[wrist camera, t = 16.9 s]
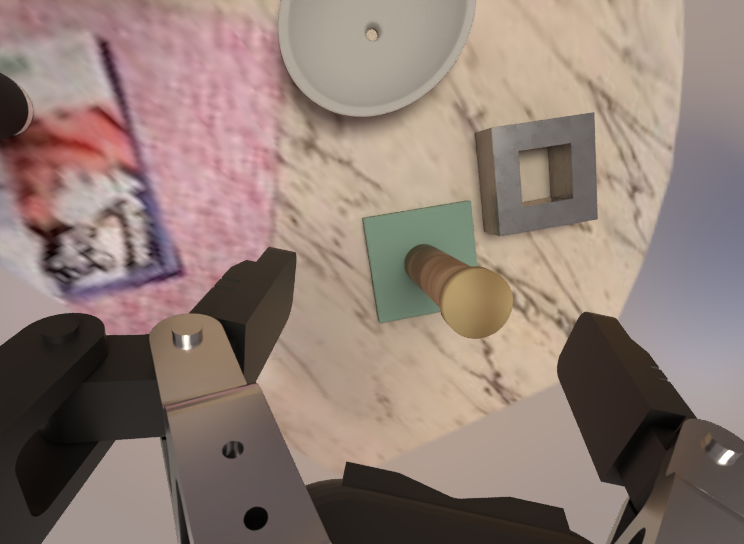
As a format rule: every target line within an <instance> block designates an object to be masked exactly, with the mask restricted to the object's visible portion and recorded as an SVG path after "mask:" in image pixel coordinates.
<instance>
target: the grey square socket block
mask: <svg viewBox="0 0 744 544" xmlns="http://www.w3.org/2000/svg"><path fill="white" fill-rule="evenodd" d="M475 136H476V147H477V158H478V169H479V179H480V190H481V201H482V212H483V222H484V232H487V233H491V234H495V235H498V236H504V235H510V234H516V233H521V232H527V231H533V230H539V229H544V228H550V227H556V226H562V225H567V224H573V223H579V222H584V221H590V220H596V219H598V217H597V185H596V153H595V122H594V112H593V113H587V114H580V115H573V116H567V117H560V118H553V119H547V120H540V121H533V122H527V123H520V124H514V125H507V126H500V127H494V128H489V129H486V130H483V131H480V132H477V133H475ZM543 147H548V151H549V169H550V187H551V197H550V198H544V199H538V200H532V201H526V202H522V195H521V181H520V167H519V153H518V151H524V150H530V149H536V148H543Z"/></svg>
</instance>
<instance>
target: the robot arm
mask: <svg viewBox="0 0 744 544" xmlns="http://www.w3.org/2000/svg"><path fill="white" fill-rule="evenodd" d="M295 270H296V253H295V252H291V251H287V250H282V249H277V248H272V247H268V248H267V249H266V251H265V252H264V253H263V254H262V255H261V257H260V258H259V259H258V260H257V262H254V261H249V260H245V261H243V262H241V263H239V264H237V265H235V266H232V267H231V268H230V269H229V270H228V271H227V272H226V273H225V274H224V275H223V277H222V279H220V280H219V281H218V282H217V283H216V284H215V286H214V288H212V289H211V290H210V291H209V292H208V293H207V294H206V295H205V296H204V297H203V298H202V300H201V301H200V302H199V303H198V304H197V305H196V306H195V307H194V308H193V309H192V311H191V312H190V313H189V314H181V315H176V316H173V317H169V318H167V319H165V320H163V321H161V322H160V323H158V324H157V325H156V326H155V327H154V328H153V329H152V331H151V332H150V334H145V335H106V333H105V327H104V324H103V322H102V321H101V320H100V319H98V318H97V317H95V316H92V315H88V314H82V313H65V314H58V315H54V316H50V317H46V318H43V319H41V320H38V321H36V322H34V323H32V324H30V325H28V326H27V327H25V328H24V329H22V330H21V331H20V332H18V333H17V334H16V335H15V336H13V337H12V338H11V339H9V340H8V341H6V342H5V343H4V344H2V345H1V346H0V544H41V543H42V542H43V540H44V539H45V538H46V536H47V535H48V533H49V532H50V531H51V529H52V528H53V526H54V525H55V524H56V522H57V521H58V519H59V518H60V517H61V515H62V514H63V512H64V511H65V510H66V508H67V507H68V506H69V504H70V502H71V501H72V500H73V499H74V497H75V496H76V494H77V493H78V492H79V490H80V489H81V487H82V486H83V485H84V483H85V482H86V481H87V479H88V478H89V476H90V475H91V474H92V472H93V471H94V469H95V468H96V467H97V465H98V464H99V462H100V461H101V460H102V458H103V457H104V456H105V454H106V453H107V451H108V450H109V448H110V447H111V446H112V444H113V443H114V442H115V440H122V439H135V438H149V437H160V440H161V447H162V452H163V458H164V463H165V469H166V474H167V480H168V485H169V491H170V496H171V502H172V508H173V514H174V520H175V527H176V535H177V542H178V544H593V543H592V542H590V541H589V540H587V539H585V538H584V537H582V536H580V535H578V534H577V533H575V532H573V531H571V530H570V529H569V525H568V522H567V519H566V516H565V512H564V509H563V508H559V507H554V506H549V505H544V504H541V503H536V502H531V501H526V500H522V499H517V498H513V497H495V498H493V497H492V498H467V499H457V498H453V497H450V496H448V495H445V494H443V493H441V492H439V491H437V490H435V489H433V488H431V487H428V486H426V485H424V484H422V483H420V482H418V481H415V480H413V479H411V478H409V477H407V476H405V475H403V474H400V473H397V472H392V471H388V470H383V469H379V468H374V467H369V466H365V465H360V464H356V463H351V462H346V466H345V470H344V475H343V479H331V480H325V481H319V482H315V483H312V484H309V485H305V484H304V482H303V480H302V478H301V476H300V474H299V472H298V469H297V467H296V465H295V463H294V460H293V458H292V456H291V454H290V451H289V449H288V447H287V445H286V443H285V440H284V438H283V436H282V434H281V432H280V429H279V427H278V425H277V423H276V421H275V418H274V416H273V414H272V412H271V410H270V407H269V405H268V403H267V401H266V399H265V396H264V394H263V392H262V390H261V388H260V386H259V385H258V384H257V383H256V380H257V378H258V376H259V374H260V373H261V371H262V369H263V367H264V365H265V363H266V361H267V359H268V357H269V355H270V353H271V351H272V349H273V347H274V346H275V344H276V342H277V340H278V338H279V336H280V334H281V332H282V330H283V328H284V326H285V324H286V322H287V320H288V318H289V315H290V311H291V307H292V301H293V291H294V281H295ZM557 374H558V378H559V381H560V383H561V385H562V388H563V390H564V393H565V395H566V398H567V400H568V402H569V405H570V407H571V410H572V412H573V415H574V417H575V419H576V422H577V424H578V427H579V429H580V432H581V434H582V436H583V439H584V441H585V444H586V446H587V449H588V451H589V454H590V456H591V458H592V461H593V463H594V466H595V468H596V471H597V473H598V475H599V478H600V480H601V482H606V483H611V484H616V485H620V486H625V488H626V490H627V493H628V495H629V496H628V497H627V498H626V500H625V501H624V503H623V504H622V506H621V509H620V511H619V513H618V516H617V518H616V521H615V523H614V525H613V527H612V530H611V532H610V534H609V537H608V539H607V542H606V544H744V441H743V440H742V439H740V438H739V437H738V436H736V435H735V434H733V433H732V432H730V431H728V430H726V429H725V428H723V427H721V426H719V425H716V424H714V423H712V422H709V421H706V420H701V419H697V418H696V416H695V415H694V413H693V412H692V411H691V409H690V408H689V407H688V406H687V404H686V403H685V402H684V400H683V399H682V397H681V396H680V395H679V393H678V392H677V391H676V389H675V388H674V387H673V385H672V384H671V383H670V382H668V381H667V377H666V376H665V375H664V373H663V372H662V371H661V370H659V367H658V365H657V364H656V363H655V361H654V360H653V359H652V357H651V356H650V354H649V353H648V352H647V351H645V350H644V349H643V348H642V347H640V346H639V345H638V344H637V343H636V342H634V341H633V340H632V339H631V338H630V337H629V335H628V334H627V333H626V331H625V330H624V328H623V327H622V326H621V324H620V323H619V322H618V320H617V319H616V318H614V317H610V316H605V315H600V314H595V313H590V312H584V313H582V314H581V315H580V316H579V318H578V320H577V322H576V324H575V326H574V328H573V330H572V332H571V334H570V336H569V338H568V340H567V342H566V344H565V346H564V348H563V350H562V352H561V354H560V356H559V359H558V364H557Z"/></svg>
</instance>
